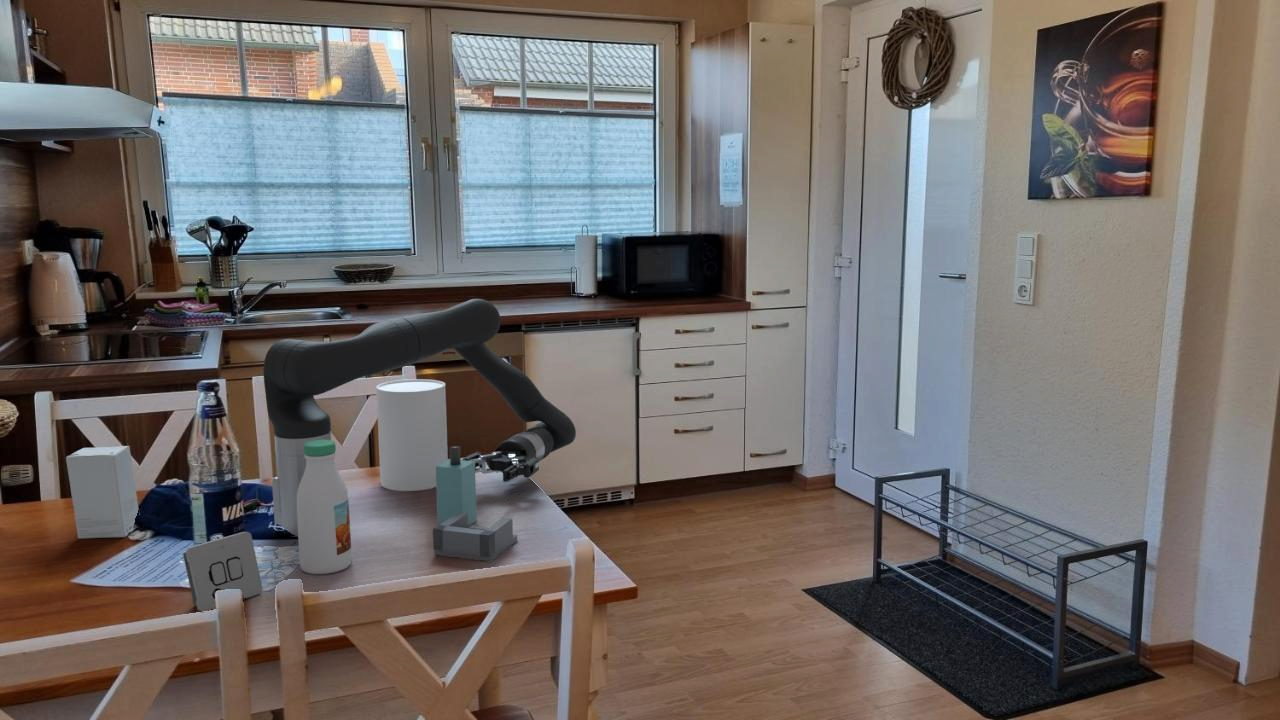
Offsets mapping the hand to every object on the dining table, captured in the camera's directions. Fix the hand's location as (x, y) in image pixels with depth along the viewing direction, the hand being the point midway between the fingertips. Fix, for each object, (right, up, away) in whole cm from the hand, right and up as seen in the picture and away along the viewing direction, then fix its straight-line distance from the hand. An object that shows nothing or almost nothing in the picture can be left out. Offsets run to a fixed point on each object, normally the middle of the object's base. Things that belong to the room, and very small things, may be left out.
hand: (484, 474), depth 176 cm
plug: (-3, -8, -9) cm, 12 cm away
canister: (-17, -4, +17) cm, 24 cm away
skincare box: (-62, -9, -14) cm, 65 cm away
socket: (+2, -10, -21) cm, 23 cm away
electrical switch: (-31, -13, -41) cm, 53 cm away
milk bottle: (-20, -11, -29) cm, 37 cm away
